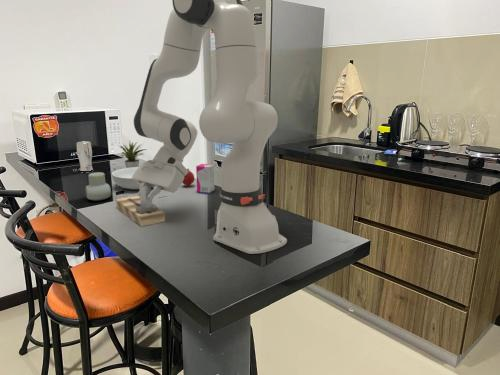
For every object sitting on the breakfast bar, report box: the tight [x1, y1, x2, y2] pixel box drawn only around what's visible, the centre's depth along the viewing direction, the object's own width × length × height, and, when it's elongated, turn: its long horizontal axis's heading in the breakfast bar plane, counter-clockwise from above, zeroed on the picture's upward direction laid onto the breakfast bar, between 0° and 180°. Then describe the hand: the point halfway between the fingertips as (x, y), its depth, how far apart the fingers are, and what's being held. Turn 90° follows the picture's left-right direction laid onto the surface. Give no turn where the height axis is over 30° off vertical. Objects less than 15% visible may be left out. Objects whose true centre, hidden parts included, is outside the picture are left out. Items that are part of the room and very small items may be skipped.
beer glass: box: [76, 140, 94, 171], centre depth 193 cm, size 7×7×15 cm
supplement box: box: [195, 163, 216, 195], centre depth 158 cm, size 6×6×12 cm
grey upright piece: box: [136, 185, 159, 213], centre depth 124 cm, size 4×6×8 cm, turn 127°
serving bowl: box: [111, 167, 141, 191], centre depth 165 cm, size 21×21×7 cm
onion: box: [182, 168, 195, 187], centre depth 166 cm, size 6×6×8 cm
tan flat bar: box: [115, 195, 166, 227], centre depth 131 cm, size 24×8×3 cm, turn 37°
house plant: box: [119, 141, 148, 168], centre depth 189 cm, size 14×14×16 cm
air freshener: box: [85, 171, 112, 202], centre depth 148 cm, size 11×8×10 cm
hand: (144, 197), depth 124 cm, fingers closed on grey upright piece, 3 cm apart
